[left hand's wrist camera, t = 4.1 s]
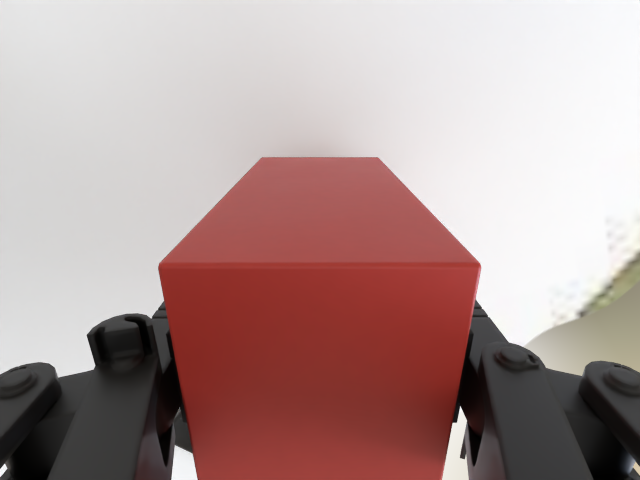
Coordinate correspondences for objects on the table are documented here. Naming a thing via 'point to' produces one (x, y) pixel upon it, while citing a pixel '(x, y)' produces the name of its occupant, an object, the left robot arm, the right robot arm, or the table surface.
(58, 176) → the table surface
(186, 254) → the brick
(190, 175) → the table surface
